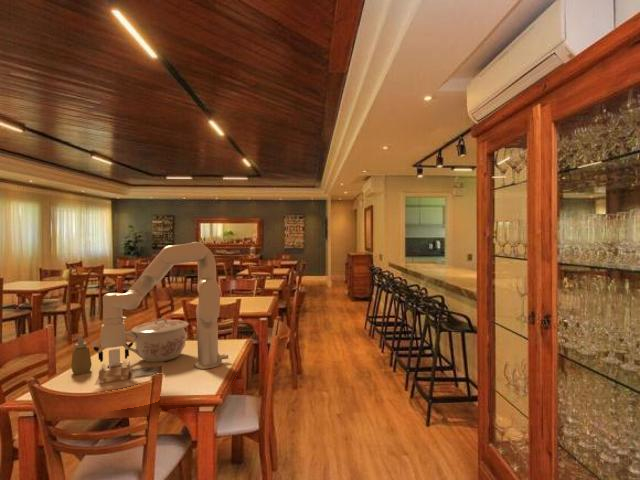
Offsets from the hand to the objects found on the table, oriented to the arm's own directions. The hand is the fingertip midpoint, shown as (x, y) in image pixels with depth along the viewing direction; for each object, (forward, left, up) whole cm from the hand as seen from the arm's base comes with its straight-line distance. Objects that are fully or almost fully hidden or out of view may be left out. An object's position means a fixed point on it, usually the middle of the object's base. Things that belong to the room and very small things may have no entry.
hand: (114, 359), depth 168 cm
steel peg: (0, 0, -8) cm, 8 cm away
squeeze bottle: (+15, -14, -9) cm, 22 cm away
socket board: (-6, 0, -9) cm, 11 cm away
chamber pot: (-19, -22, -9) cm, 31 cm away
